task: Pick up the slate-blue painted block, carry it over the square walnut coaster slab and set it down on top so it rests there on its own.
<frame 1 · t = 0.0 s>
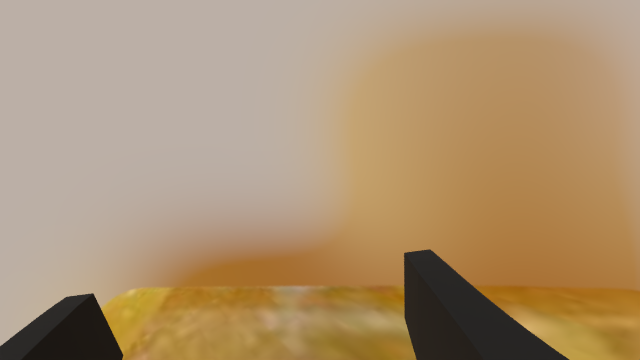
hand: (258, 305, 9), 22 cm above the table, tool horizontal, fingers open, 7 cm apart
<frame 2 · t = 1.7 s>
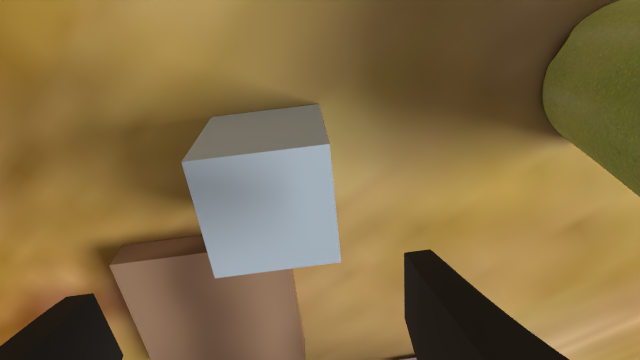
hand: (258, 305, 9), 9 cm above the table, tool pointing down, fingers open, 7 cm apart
plant pot: (603, 75, 17), on the table
slab: (223, 290, 21), on the table
block: (273, 159, 17), on the table
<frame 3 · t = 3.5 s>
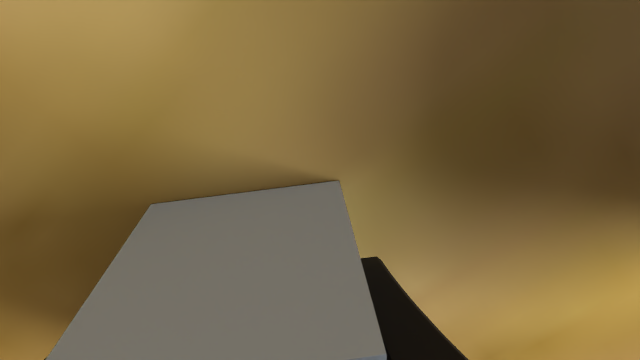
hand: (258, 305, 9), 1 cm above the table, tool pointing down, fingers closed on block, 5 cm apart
block: (261, 266, 10), on the table, touching gripper
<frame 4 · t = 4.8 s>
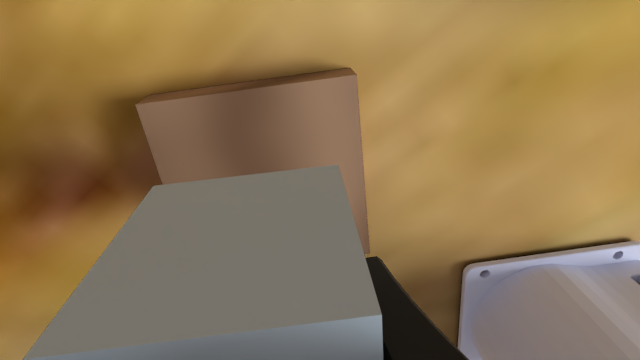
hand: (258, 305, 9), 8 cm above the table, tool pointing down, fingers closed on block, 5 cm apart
slab: (268, 168, 17), on the table
block: (261, 250, 10), point 7 cm above the table, touching gripper
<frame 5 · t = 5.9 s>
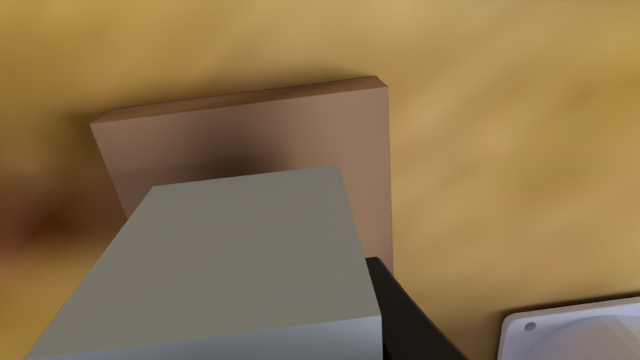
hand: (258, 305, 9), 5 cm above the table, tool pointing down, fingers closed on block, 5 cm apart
slab: (268, 199, 14), on the table
block: (261, 251, 10), point 3 cm above the table, touching gripper
when the fingers open (5 cm above the table, at t = 6.4 s): block drops 1 cm, point 1 cm above the table.
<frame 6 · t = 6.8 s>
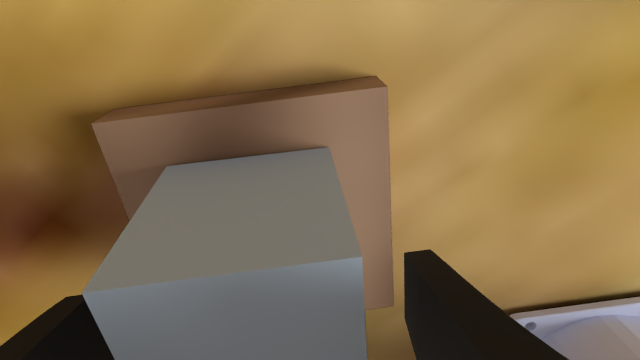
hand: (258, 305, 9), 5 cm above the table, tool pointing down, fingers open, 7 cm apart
slab: (269, 198, 14), on the table
block: (261, 224, 12), point 1 cm above the table
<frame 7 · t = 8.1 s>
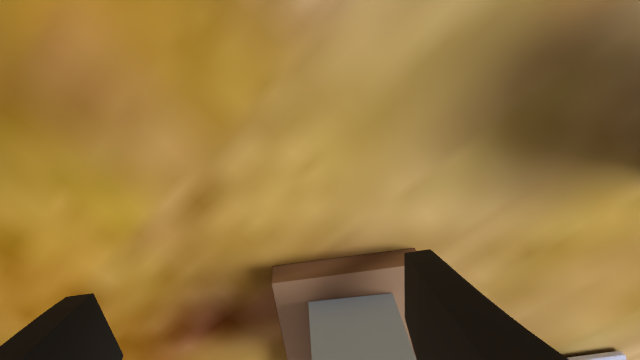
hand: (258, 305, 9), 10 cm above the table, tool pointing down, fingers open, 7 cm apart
slab: (347, 303, 23), on the table
block: (351, 328, 21), point 1 cm above the table
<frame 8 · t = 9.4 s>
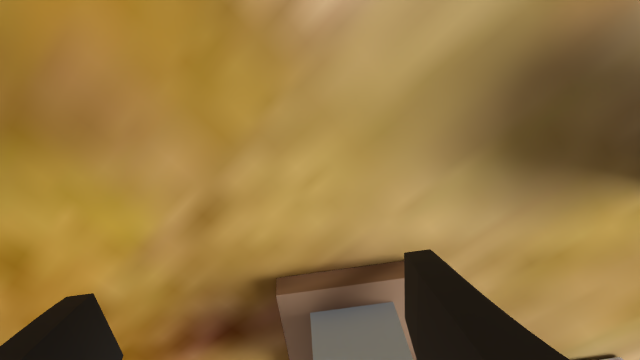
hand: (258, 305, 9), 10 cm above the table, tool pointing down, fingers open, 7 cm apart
slab: (350, 312, 23), on the table, touching block
block: (354, 337, 22), point 1 cm above the table, touching slab
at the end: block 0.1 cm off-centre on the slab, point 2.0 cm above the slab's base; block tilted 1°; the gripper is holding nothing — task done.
